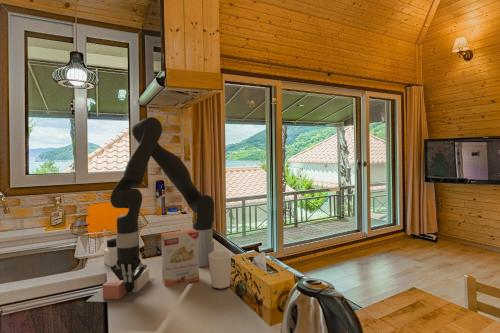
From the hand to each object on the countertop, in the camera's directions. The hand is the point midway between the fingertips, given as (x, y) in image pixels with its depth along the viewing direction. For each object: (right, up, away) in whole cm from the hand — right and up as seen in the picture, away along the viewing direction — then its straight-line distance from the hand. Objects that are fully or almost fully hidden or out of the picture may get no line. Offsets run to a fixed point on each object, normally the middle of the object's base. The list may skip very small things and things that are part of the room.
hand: (129, 291), depth 106 cm
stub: (-5, -2, +1) cm, 6 cm away
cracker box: (+15, -3, +13) cm, 21 cm away
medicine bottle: (-22, -2, +36) cm, 43 cm away
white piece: (-5, -3, +6) cm, 8 cm away
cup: (+32, -2, +10) cm, 34 cm away
